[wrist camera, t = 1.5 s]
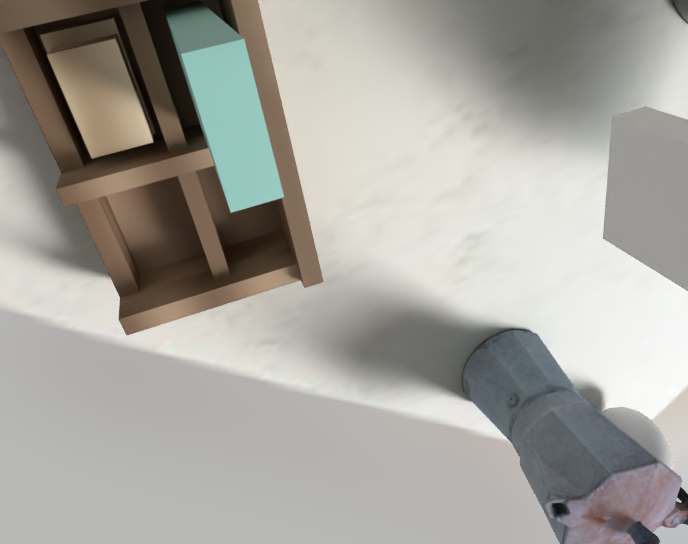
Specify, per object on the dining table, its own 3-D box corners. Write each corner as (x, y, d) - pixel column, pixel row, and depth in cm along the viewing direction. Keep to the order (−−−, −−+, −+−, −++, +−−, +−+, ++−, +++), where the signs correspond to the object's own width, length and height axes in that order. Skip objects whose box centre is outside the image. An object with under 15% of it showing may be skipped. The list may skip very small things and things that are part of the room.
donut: (588, 456, 66) (653, 529, 58) (564, 458, 65) (627, 533, 56) (624, 386, 62) (700, 454, 53) (599, 387, 61) (673, 457, 52)
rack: (224, -51, 32) (245, -52, 26) (295, 231, 41) (323, 282, 35) (-1, -3, 30) (-38, 9, 24) (128, 282, 39) (126, 345, 33)
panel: (199, 0, 31) (244, 38, 18) (228, 100, 34) (284, 197, 21) (163, 9, 31) (180, 53, 18) (195, 109, 34) (230, 212, 21)
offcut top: (116, 33, 29) (115, 38, 27) (152, 132, 32) (153, 142, 30) (52, 48, 29) (46, 54, 27) (94, 147, 31) (91, 158, 30)
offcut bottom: (114, 14, 30) (113, 18, 29) (154, 124, 34) (155, 133, 32) (45, 30, 30) (39, 35, 28) (91, 140, 33) (89, 150, 31)
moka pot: (455, 317, 50) (613, 502, 33) (589, 328, 56) (781, 490, 39) (420, 403, 54) (547, 608, 37) (549, 405, 59) (709, 583, 43)
